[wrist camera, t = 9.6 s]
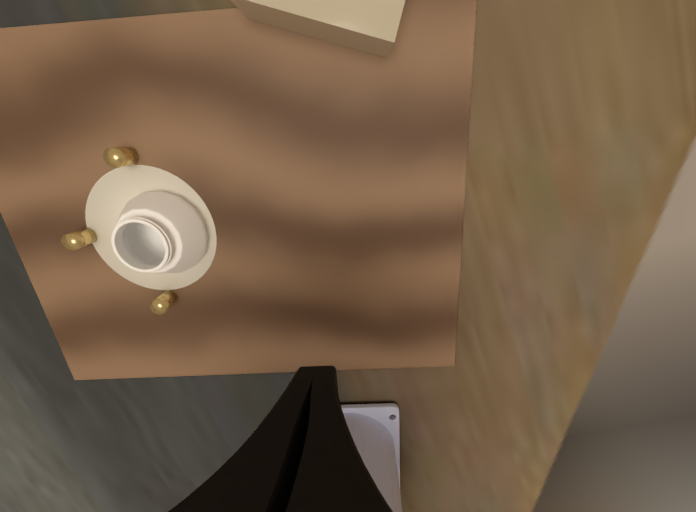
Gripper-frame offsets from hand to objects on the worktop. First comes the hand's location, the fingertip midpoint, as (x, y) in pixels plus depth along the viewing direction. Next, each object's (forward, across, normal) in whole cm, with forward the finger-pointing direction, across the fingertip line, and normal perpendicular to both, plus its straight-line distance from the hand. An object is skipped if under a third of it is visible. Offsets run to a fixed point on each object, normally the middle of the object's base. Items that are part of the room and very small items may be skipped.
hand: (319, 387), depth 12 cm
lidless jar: (+10, +10, -4) cm, 14 cm away
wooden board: (+10, +6, -4) cm, 13 cm away
